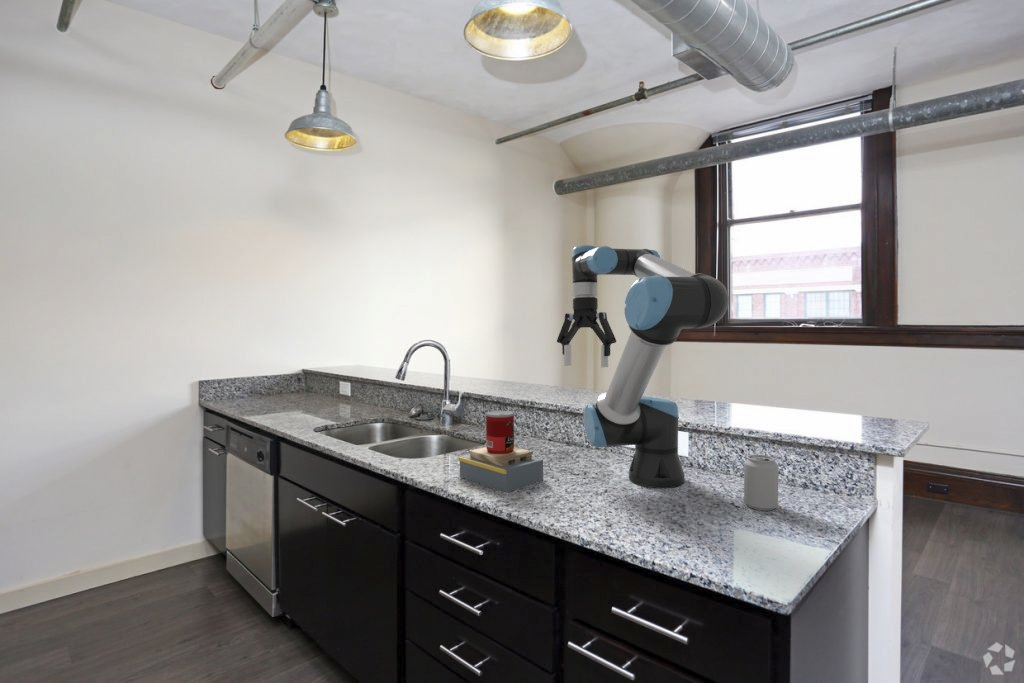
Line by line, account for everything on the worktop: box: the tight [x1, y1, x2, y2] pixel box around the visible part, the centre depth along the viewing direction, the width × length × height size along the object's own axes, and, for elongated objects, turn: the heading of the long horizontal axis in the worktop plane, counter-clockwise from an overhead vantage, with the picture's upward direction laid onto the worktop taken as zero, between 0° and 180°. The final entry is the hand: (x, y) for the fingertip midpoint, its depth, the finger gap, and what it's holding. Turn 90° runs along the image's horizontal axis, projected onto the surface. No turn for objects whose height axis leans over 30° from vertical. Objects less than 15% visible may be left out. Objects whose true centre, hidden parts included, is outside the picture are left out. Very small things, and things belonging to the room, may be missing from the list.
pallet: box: [468, 446, 534, 466], centre depth 152 cm, size 14×12×2 cm
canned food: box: [485, 410, 515, 454], centre depth 152 cm, size 8×8×11 cm
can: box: [743, 454, 779, 512], centre depth 128 cm, size 8×8×12 cm
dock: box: [457, 453, 544, 493], centre depth 152 cm, size 20×15×6 cm
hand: (585, 366), depth 164 cm, fingers open, 13 cm apart
